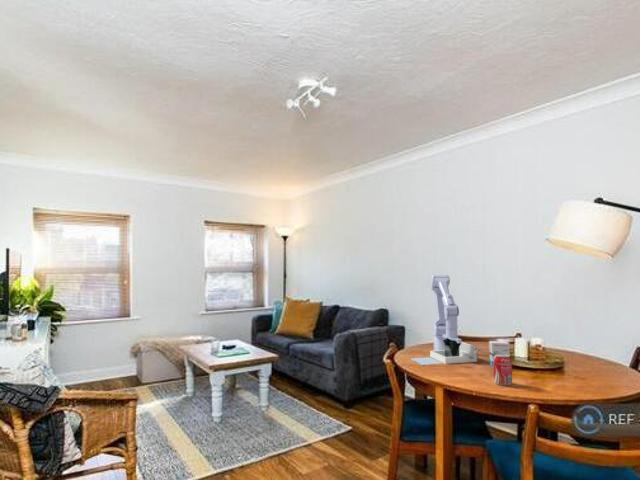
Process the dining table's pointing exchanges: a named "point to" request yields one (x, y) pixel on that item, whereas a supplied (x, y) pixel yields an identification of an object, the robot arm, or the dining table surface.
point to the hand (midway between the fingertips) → (452, 354)
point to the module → (449, 351)
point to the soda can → (502, 369)
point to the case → (465, 355)
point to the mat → (425, 361)
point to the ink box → (497, 349)
